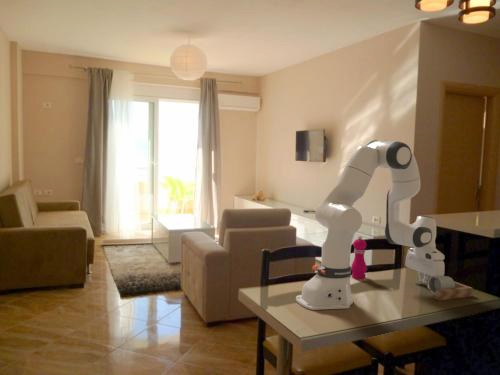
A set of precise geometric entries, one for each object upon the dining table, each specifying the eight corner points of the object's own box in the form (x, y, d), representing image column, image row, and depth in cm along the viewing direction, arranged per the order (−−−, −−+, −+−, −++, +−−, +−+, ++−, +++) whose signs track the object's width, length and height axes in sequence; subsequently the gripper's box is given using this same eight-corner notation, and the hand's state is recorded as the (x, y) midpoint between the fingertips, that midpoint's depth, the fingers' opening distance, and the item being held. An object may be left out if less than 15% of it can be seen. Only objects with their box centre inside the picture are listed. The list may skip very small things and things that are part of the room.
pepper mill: (369, 278, 193) (371, 236, 191) (356, 280, 190) (358, 237, 188) (360, 274, 199) (361, 234, 198) (347, 276, 197) (349, 234, 195)
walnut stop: (438, 300, 164) (438, 292, 164) (416, 291, 175) (417, 283, 175) (472, 296, 170) (472, 287, 170) (449, 287, 181) (449, 279, 181)
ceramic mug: (456, 295, 171) (457, 277, 171) (440, 297, 168) (441, 278, 168) (437, 288, 181) (437, 270, 181) (422, 289, 178) (422, 272, 178)
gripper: (402, 247, 191) (401, 276, 192) (435, 257, 171) (434, 289, 172) (413, 246, 193) (412, 275, 194) (447, 256, 173) (446, 288, 174)
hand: (423, 282), depth 183 cm, fingers closed
